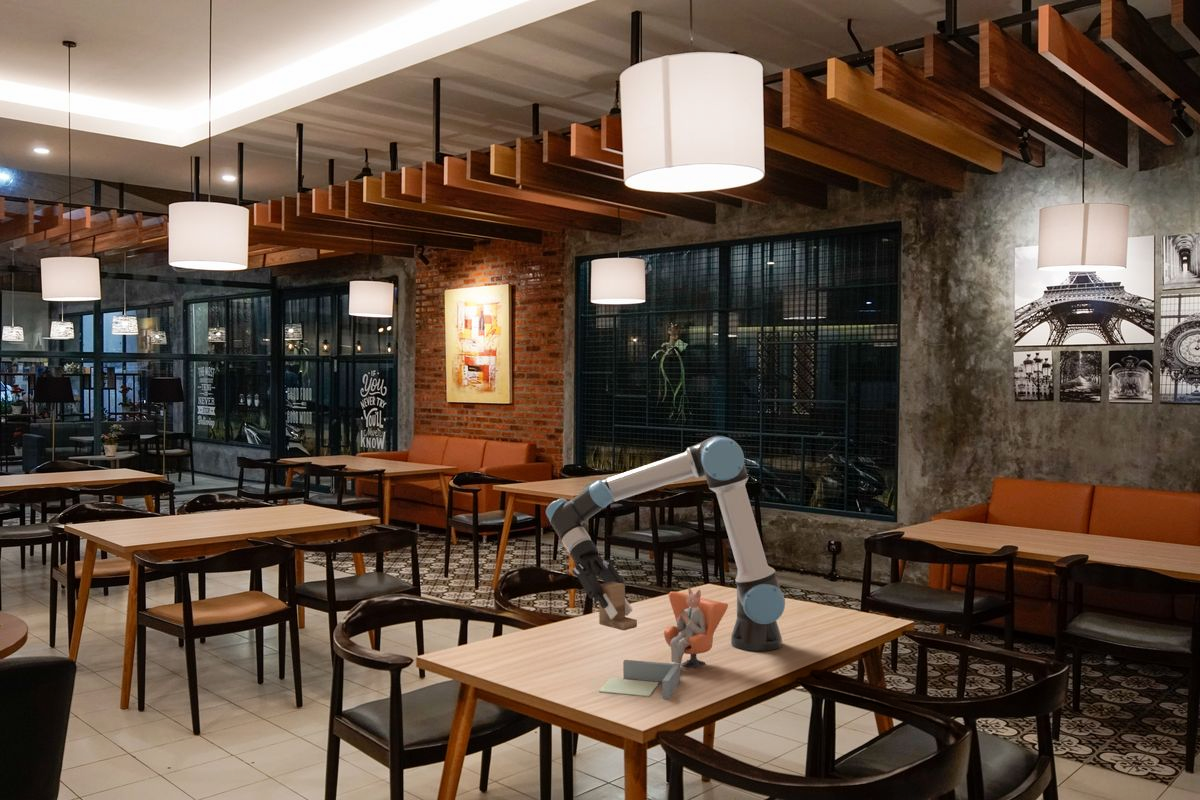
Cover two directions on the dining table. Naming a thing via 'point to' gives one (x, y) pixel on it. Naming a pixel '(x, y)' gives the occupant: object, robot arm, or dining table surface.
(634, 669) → the corner wall
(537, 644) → the dining table surface
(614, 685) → the pad
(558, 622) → the dining table surface
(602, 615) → the brown boxy piece
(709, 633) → the figure
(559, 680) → the dining table surface
